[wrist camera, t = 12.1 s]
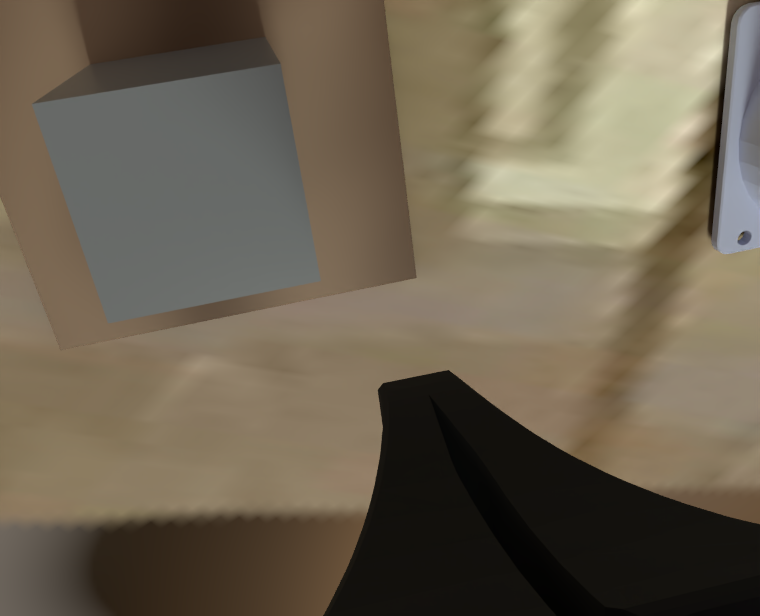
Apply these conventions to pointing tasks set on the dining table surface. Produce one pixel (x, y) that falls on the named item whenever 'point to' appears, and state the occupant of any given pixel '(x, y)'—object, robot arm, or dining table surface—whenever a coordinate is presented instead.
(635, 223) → the dining table surface
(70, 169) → the grey rectangular block
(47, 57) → the post board
